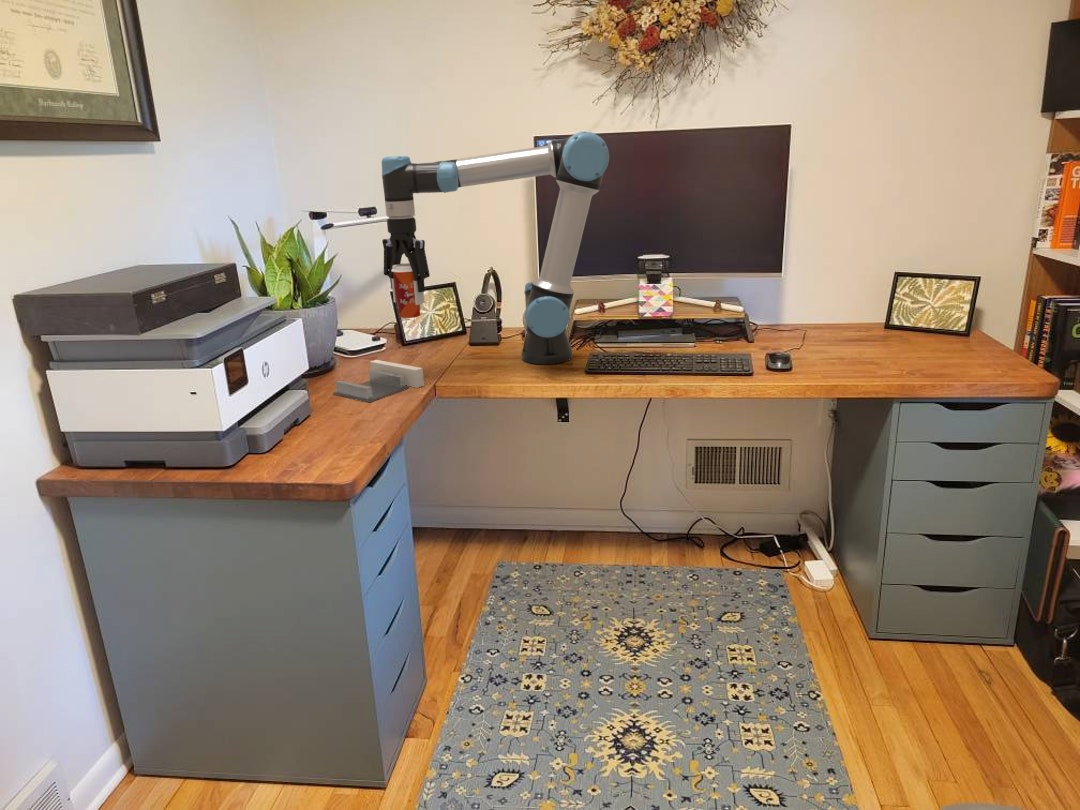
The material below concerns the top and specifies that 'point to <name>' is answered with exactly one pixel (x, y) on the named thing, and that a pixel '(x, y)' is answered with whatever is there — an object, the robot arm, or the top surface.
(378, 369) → the board
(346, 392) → the bracket
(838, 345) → the top surface
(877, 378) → the top surface
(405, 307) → the paper cup
